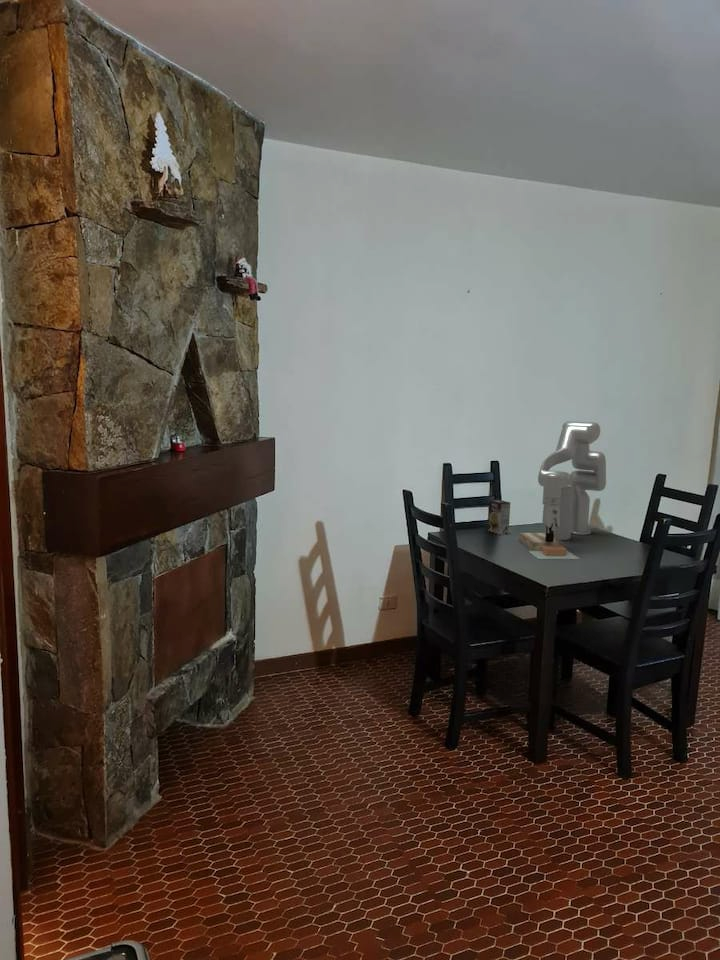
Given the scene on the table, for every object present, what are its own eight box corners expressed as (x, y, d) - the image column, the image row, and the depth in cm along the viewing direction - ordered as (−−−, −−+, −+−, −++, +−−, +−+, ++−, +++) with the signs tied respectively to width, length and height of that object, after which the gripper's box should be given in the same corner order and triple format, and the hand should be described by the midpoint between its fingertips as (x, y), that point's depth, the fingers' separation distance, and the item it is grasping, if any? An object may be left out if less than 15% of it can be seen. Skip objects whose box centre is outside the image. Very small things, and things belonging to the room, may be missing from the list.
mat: (567, 551, 313) (567, 550, 313) (579, 559, 300) (579, 558, 300) (528, 551, 312) (528, 550, 312) (538, 559, 298) (538, 558, 298)
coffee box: (487, 531, 353) (488, 500, 351) (497, 530, 356) (498, 499, 354) (499, 535, 345) (500, 502, 343) (509, 533, 348) (510, 502, 346)
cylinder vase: (576, 539, 337) (579, 488, 334) (554, 541, 333) (557, 489, 329) (559, 534, 349) (562, 484, 345) (538, 536, 344) (541, 485, 341)
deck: (548, 541, 334) (548, 532, 333) (562, 551, 314) (563, 542, 313) (519, 541, 333) (519, 532, 332) (532, 551, 313) (532, 542, 312)
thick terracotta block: (566, 549, 304) (566, 555, 304) (561, 545, 310) (561, 552, 310) (546, 549, 303) (546, 555, 303) (541, 545, 309) (541, 552, 309)
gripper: (565, 504, 301) (563, 545, 304) (554, 498, 316) (551, 538, 319) (548, 504, 301) (546, 545, 304) (537, 498, 316) (535, 538, 318)
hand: (549, 541), depth 311 cm, fingers closed
